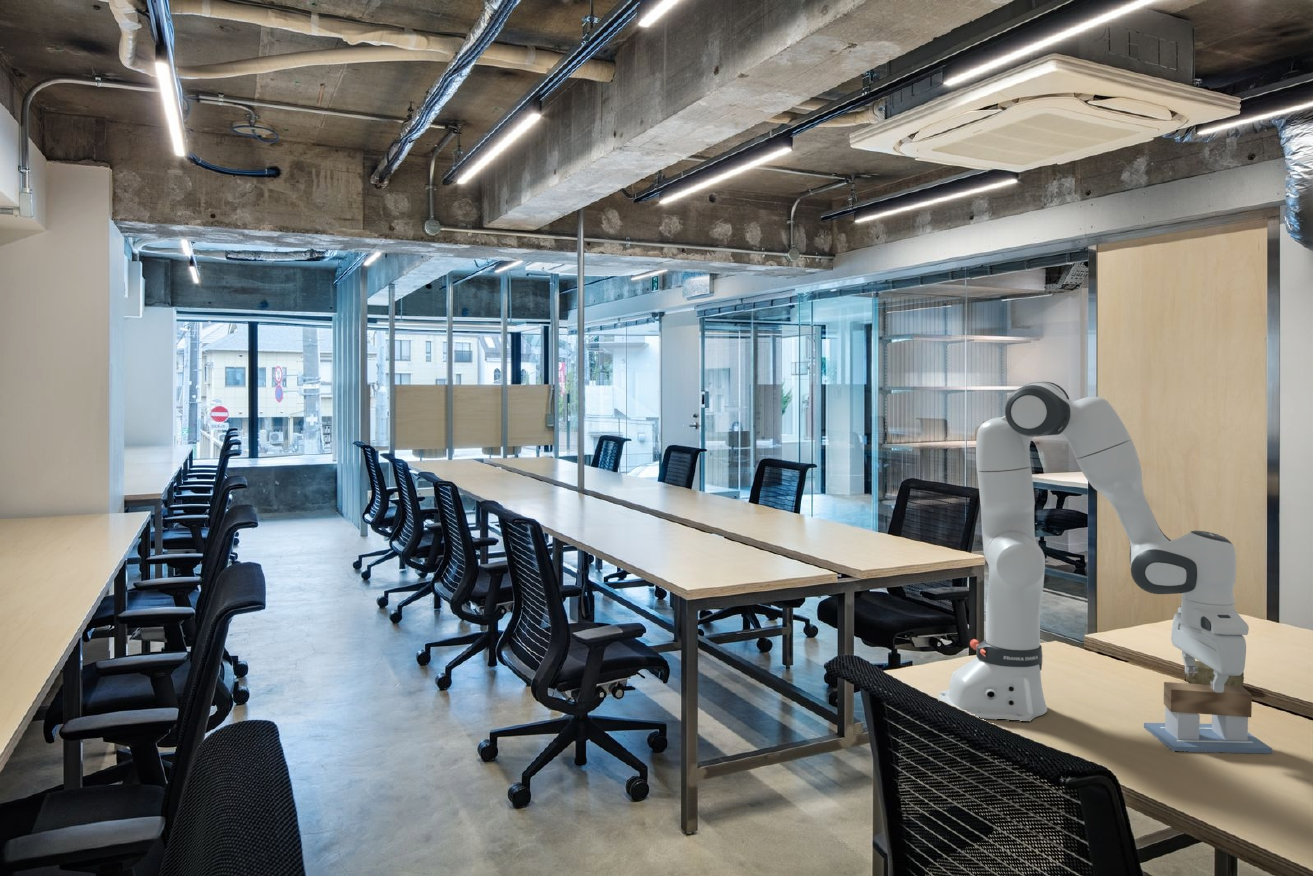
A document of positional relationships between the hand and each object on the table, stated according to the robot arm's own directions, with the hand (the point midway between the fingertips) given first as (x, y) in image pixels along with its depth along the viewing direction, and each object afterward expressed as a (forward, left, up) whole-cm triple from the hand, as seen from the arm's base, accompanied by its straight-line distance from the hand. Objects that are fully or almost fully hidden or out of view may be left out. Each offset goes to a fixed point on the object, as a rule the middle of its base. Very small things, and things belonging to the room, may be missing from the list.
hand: (1203, 683), depth 173 cm
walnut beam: (+1, 0, -5) cm, 5 cm away
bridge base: (0, 0, -11) cm, 11 cm away
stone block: (+20, +33, -12) cm, 40 cm away
